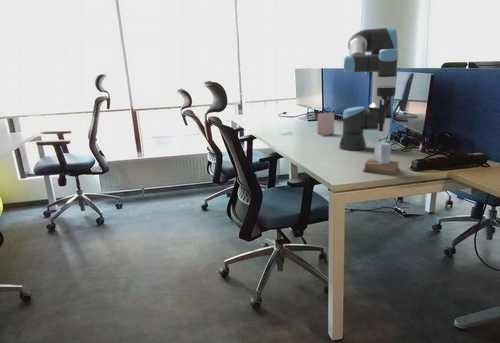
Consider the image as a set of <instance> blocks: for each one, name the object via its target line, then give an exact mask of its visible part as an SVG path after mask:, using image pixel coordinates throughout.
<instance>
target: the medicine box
mask: <svg viewBox="0 0 500 343" xmlns="http://www.w3.org/2000/svg"><path fill="white" fill-rule="evenodd" d="M373 151H374V152H373V159H374V160H375V161H377V162H379V163H380V164H390V160H391V158H392V157H391V155H392V145H391V144H390V143H388V142H386V141H375V142H374V150H373Z"/></svg>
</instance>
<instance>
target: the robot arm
mask: <svg viewBox="0 0 500 343" xmlns="http://www.w3.org/2000/svg"><path fill="white" fill-rule="evenodd" d="M347 48H348V51H349V52H348V55H345V56H344V57H343V72H344V73H348V74H349V73H351V74H354V73H372V92H371V103H370V104H369V105H368V108H367V109H366V108H365V106H353V107H349V108H345V109H344V110H343V116H342V119H343V120H342V136H341V137H340V138H341V139H340V142H339V147H338V148H339V149H341V150H345V151H346V150H347V151H361V150H365V149H366V148H367V144H366V143H367V142H366V138H365V137H364V136H365V135H364V132H365V131H377V137H376V139H380V140H381V139H382V140H384V139H385V134H386V133H387V134H388V133H390V128H391V125H392V121H393V117H394V110H393V108H392V97H395V96H396V86H397V73H398V72H397V70H398V59H399V51H398V33H397V29H395V28H393V27H383V28H382V27H381V28H371V29H369V28H367V29H362V30H360V31H357V32H356V33H354V34H352V36H351V37H350V39H349V40H348V44H347ZM366 53H370V54H366Z"/></svg>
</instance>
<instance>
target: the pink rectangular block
mask: <svg viewBox="0 0 500 343" xmlns="http://www.w3.org/2000/svg"><path fill="white" fill-rule="evenodd" d="M316 132H317V134H321V135H320V137H325V136H324V135H326V136H330V135H329V134H332V135H335V112H318V113H317V131H316ZM317 134H316V135H317Z"/></svg>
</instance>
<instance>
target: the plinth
mask: <svg viewBox="0 0 500 343" xmlns="http://www.w3.org/2000/svg"><path fill="white" fill-rule="evenodd" d="M399 170H400V167H399V160H391V159H390V164H380V163H379V162H377V161H375V160H374V158H368V159H367V160H366V162H365V163H364V168H363V171H362V172H364V173H371V174H372V173H373V174H381V175H382V174H383V175H384V174H385V175H393V176H397V174H398V172H399Z"/></svg>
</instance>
